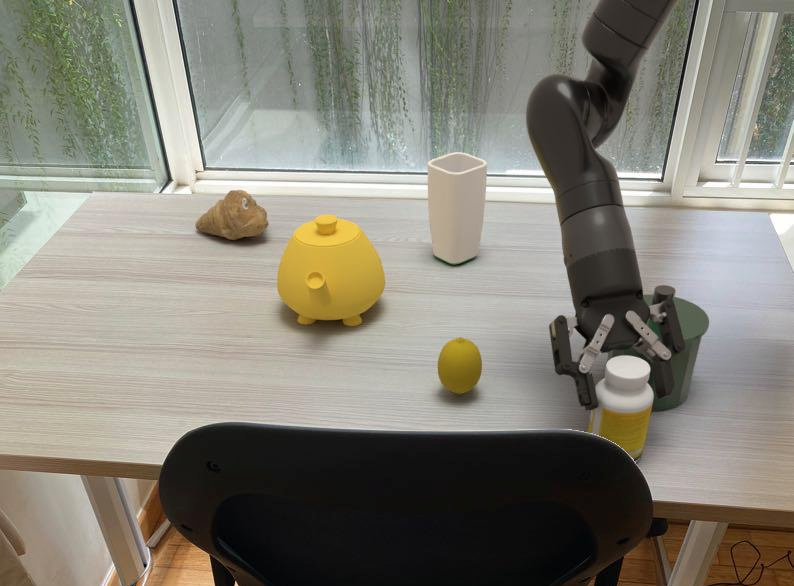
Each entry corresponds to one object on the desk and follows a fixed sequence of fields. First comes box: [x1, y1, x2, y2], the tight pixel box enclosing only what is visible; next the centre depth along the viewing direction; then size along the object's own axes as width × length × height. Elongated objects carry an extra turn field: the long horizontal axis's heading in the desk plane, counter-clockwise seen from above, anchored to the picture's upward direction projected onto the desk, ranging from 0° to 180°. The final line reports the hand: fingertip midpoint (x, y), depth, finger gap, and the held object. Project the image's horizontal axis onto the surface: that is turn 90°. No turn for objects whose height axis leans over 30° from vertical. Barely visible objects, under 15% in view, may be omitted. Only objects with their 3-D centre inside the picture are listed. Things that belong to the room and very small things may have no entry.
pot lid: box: [640, 284, 710, 344], centre depth 104 cm, size 11×11×5 cm
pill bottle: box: [587, 355, 654, 463], centre depth 98 cm, size 6×6×12 cm
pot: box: [603, 336, 703, 412], centre depth 108 cm, size 10×10×10 cm
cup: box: [427, 151, 488, 266], centre depth 135 cm, size 7×7×15 cm
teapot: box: [276, 213, 386, 327], centre depth 123 cm, size 20×16×14 cm
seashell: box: [195, 189, 270, 241], centre depth 147 cm, size 14×8×8 cm
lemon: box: [437, 336, 483, 395], centre depth 109 cm, size 6×6×8 cm
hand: (628, 403), depth 95 cm, fingers open, 8 cm apart
